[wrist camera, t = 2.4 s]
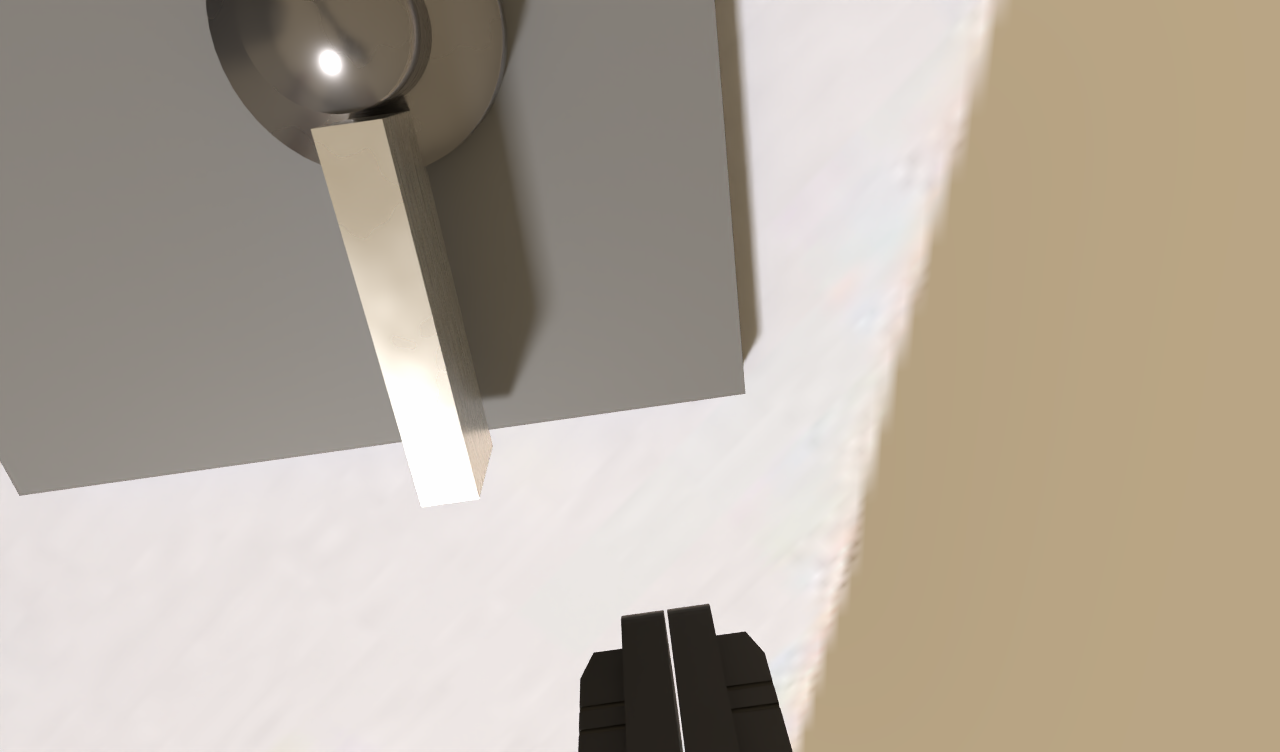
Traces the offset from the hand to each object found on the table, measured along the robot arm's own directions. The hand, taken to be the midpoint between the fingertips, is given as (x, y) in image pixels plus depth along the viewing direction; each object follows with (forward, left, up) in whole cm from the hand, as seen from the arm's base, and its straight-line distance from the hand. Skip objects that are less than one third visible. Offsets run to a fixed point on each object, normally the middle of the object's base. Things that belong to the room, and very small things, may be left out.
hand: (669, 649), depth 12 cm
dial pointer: (-6, -6, -12) cm, 15 cm away
